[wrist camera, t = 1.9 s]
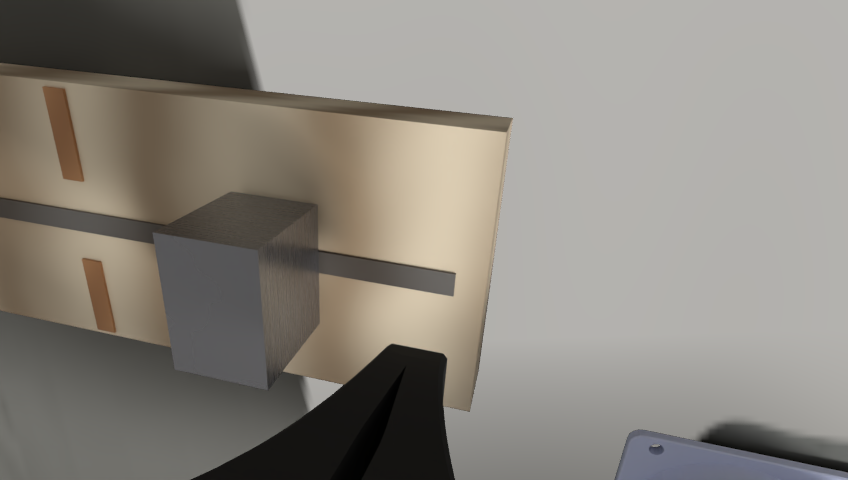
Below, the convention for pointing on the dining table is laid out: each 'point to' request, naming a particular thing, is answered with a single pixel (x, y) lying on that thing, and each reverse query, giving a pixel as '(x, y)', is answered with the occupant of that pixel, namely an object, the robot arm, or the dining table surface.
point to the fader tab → (240, 286)
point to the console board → (257, 175)
